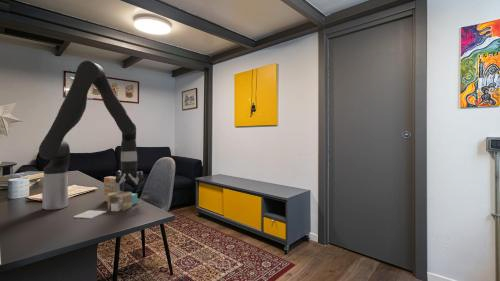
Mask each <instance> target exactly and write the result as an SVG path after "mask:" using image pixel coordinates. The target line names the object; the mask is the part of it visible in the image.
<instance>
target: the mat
mask: <svg viewBox="0 0 500 281" xmlns="http://www.w3.org/2000/svg"><path fill="white" fill-rule="evenodd" d="M105 213H107V211H106V210H92V209H91V210H90V209H89V210H86V211H85V212H81V213H78V214H76V215H74V216H73V217H72V218H75V219H90V220H91V219H95V218H96V217H99V216H101V215H103V214H105Z"/></svg>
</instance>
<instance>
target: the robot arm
mask: <svg viewBox="0 0 500 281" xmlns="http://www.w3.org/2000/svg"><path fill="white" fill-rule="evenodd" d="M92 85H93V86H94V87H95V89H96V90H97V92H99V95H100V97H101V99H102V102H103V104H104V107H105V108H106V109H107V112H108V113H109V114H110V116H111V117H112V118H113V120H114V122H115V124H116V125H117V127H118V129H119V131H120V132H121V143H120V147H121V148H120V151H121V152H120V169H121V170H118V171H115V177H116V183H119V185H120V191H122V192H125V182H126V181H128V180H129V181H132V182H134V183H135V192H136V193H137V192H139V191H140V190H141V184H142V183H145V182H144V178H145V177H144V171H143V170H141V171H138V153H137V127H136V124H135V123H134V122H133V121H132V119H131V117H130V116H129V115H128V112H127V111H126V109H125V107H124V106H123V104H122V102H121V101H120V99H119V98H118V96H117V94H115V92H114V90H113V88H112V86H111V85H110V82H109V80H108V77H107V75H106V73H105V71H104V69H103V67H102V66H101V65H99V64H98V63H95V62H94V61H91V60H84V61H82V62H80V63H79V64H78V66H77V69H76V71H75V74H74V77H73V80H72V82H71V86H70V88H69V90H68V91H67V93H66V96H65V98H64V99H63V102H62V104H61V106H60V107H59V110H58V112H57V115H56V117H55V118H54V120H53V123H52V125H51V126H50V128H49V130H48V132H47V133H46V135H45V136H44V138H43V139H42V141H41V143H40V144H39V147H38V155H39V156H40V158H42V159H44V160H50V162H49V163H47V165H46V166H44V168H43V188H41V194H42V195H41V197H42V199H41V201H42V204H41V205H42V209H44V210H46V211H47V210H48V211H49V210H50V211H52V210H59V209H64V208H66V207H68V206H69V183H68V182H69V181H68V180H69V179H68V178H69V177H68V168H69V166H70V157H71V148H70V145H69V143H68V142H67V141H66V140H64V138H65V137H66V135H67V134H68V133H69V132H70V131H71V130H72V129H73V128H74V127H76V125H78V123H80V121H81V120H82V117H83V115H84V113H85V112H86V108H87V102H88V94H89V91H90V89H91V87H92ZM121 177H122V178H121Z"/></svg>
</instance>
